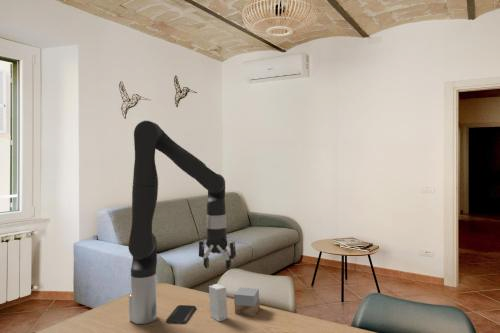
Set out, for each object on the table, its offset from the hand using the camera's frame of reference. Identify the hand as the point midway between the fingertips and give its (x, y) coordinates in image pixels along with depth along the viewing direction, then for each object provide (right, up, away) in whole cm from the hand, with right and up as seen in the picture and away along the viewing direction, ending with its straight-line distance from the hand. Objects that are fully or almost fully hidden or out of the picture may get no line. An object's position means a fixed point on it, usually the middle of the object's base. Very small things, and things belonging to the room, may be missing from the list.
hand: (217, 268), depth 139 cm
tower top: (+11, -15, +6) cm, 20 cm away
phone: (-14, -20, +3) cm, 25 cm away
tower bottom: (+11, -19, +6) cm, 23 cm away
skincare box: (0, -19, 0) cm, 19 cm away
